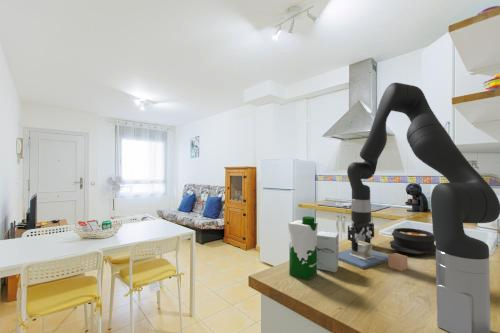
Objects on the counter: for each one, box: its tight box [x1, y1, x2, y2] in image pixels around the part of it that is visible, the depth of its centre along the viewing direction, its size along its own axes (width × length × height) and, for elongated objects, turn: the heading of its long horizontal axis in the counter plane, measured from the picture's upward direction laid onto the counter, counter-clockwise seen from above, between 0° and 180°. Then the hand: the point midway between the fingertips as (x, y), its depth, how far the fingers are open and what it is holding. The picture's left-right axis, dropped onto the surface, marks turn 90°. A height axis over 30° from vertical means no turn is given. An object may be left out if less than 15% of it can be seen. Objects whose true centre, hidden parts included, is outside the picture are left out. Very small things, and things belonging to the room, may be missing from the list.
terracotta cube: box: [387, 252, 409, 272], centre depth 90 cm, size 4×4×4 cm
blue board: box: [338, 249, 389, 270], centre depth 99 cm, size 20×15×1 cm
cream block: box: [350, 241, 373, 259], centre depth 100 cm, size 5×6×5 cm
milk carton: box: [287, 216, 319, 281], centre depth 84 cm, size 9×9×20 cm
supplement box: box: [317, 230, 340, 273], centre depth 90 cm, size 7×7×13 cm
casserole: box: [389, 227, 436, 255], centre depth 110 cm, size 25×19×8 cm
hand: (361, 249), depth 100 cm, fingers open, 8 cm apart
